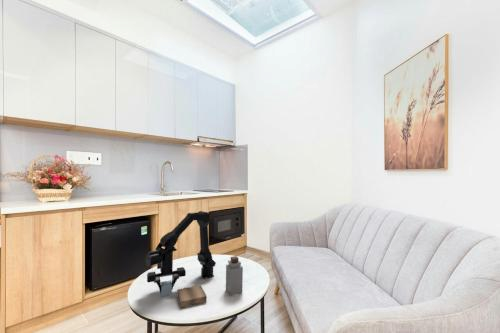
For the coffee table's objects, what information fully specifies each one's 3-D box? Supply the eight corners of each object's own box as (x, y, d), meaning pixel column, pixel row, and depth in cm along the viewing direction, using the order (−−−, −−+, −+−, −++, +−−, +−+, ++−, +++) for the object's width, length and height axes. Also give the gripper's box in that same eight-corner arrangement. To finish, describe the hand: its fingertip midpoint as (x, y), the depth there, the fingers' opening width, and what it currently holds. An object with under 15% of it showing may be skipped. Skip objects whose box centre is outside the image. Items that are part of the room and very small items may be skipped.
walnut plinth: (200, 290, 121) (200, 284, 121) (206, 302, 110) (206, 296, 110) (177, 295, 116) (177, 289, 116) (181, 308, 105) (181, 301, 105)
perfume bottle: (230, 296, 116) (231, 260, 116) (225, 290, 122) (226, 256, 122) (242, 293, 119) (242, 258, 120) (237, 287, 125) (237, 254, 126)
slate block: (170, 289, 121) (170, 280, 121) (171, 294, 117) (171, 284, 117) (160, 291, 119) (160, 282, 119) (161, 296, 115) (161, 286, 115)
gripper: (182, 253, 130) (182, 280, 129) (147, 258, 122) (146, 287, 121) (186, 260, 120) (185, 289, 119) (147, 265, 112) (146, 297, 111)
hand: (166, 290), depth 118 cm, fingers closed on slate block, 5 cm apart
